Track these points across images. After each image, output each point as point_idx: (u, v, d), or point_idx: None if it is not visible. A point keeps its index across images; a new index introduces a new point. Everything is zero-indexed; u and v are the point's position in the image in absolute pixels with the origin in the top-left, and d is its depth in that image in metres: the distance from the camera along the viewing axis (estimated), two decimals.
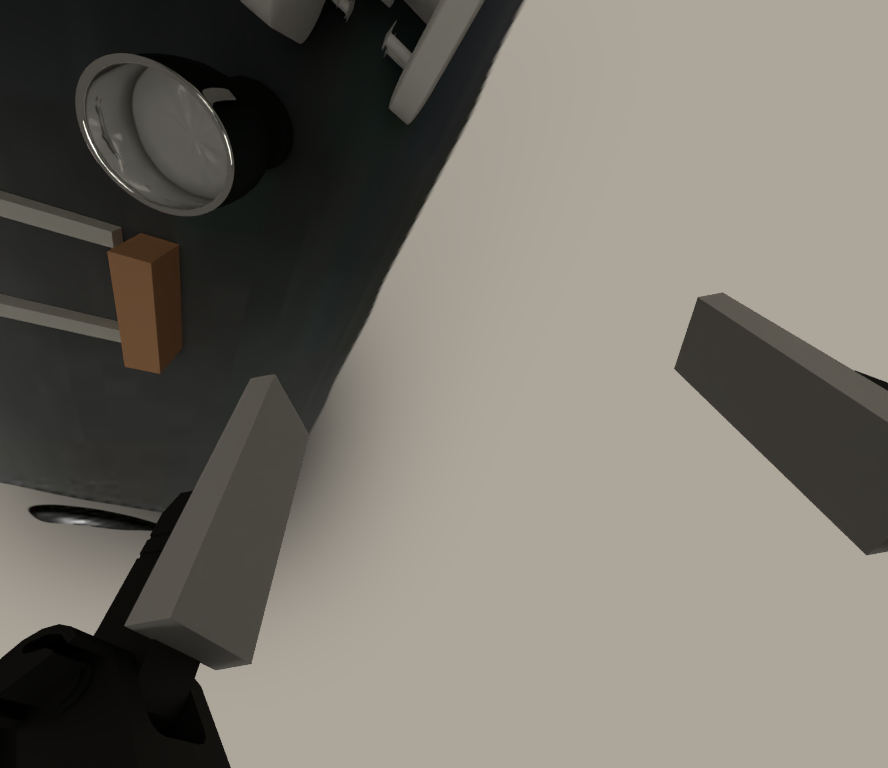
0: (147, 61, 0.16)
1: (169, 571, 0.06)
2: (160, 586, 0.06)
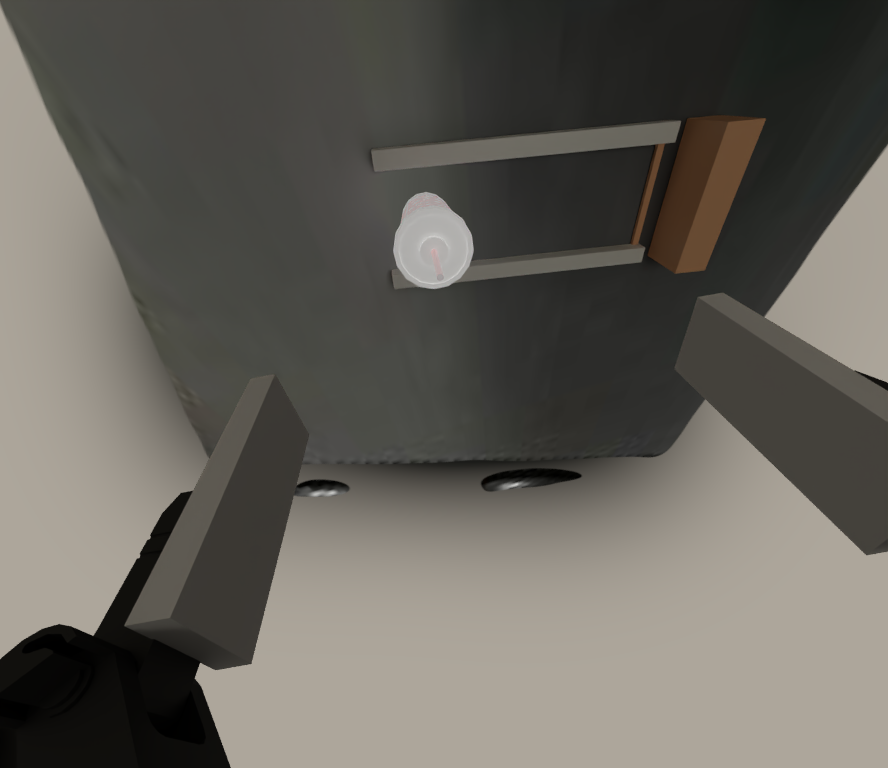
0: None
1: (169, 571, 0.06)
2: (160, 586, 0.06)
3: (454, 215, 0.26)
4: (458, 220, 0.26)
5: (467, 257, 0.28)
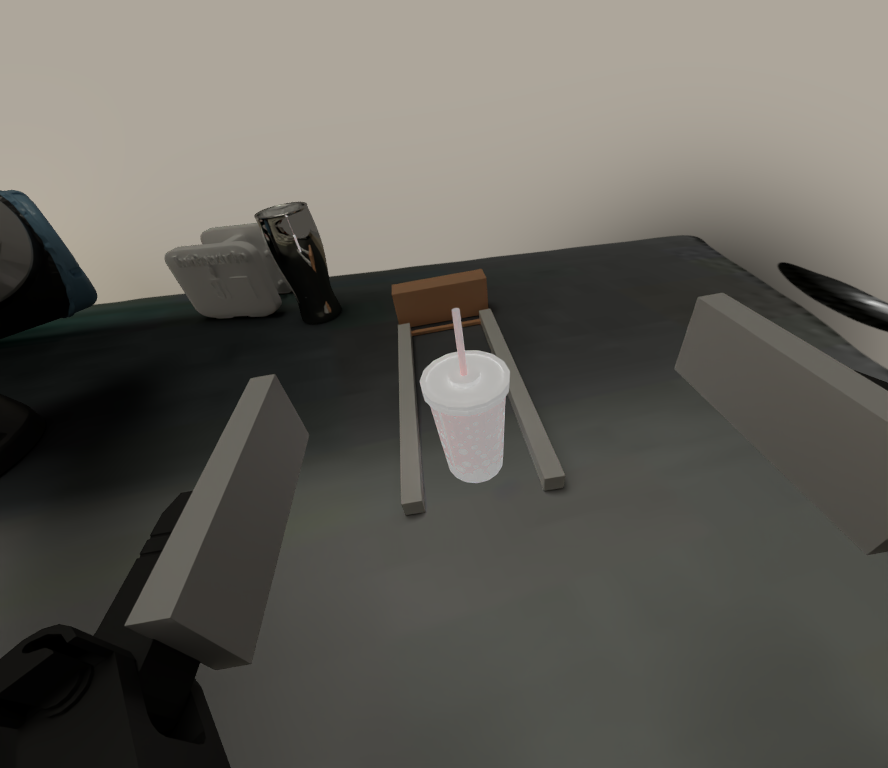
0: (255, 214, 0.45)
1: (169, 571, 0.06)
2: (160, 586, 0.06)
3: (427, 367, 0.26)
4: (432, 364, 0.26)
5: (469, 353, 0.26)
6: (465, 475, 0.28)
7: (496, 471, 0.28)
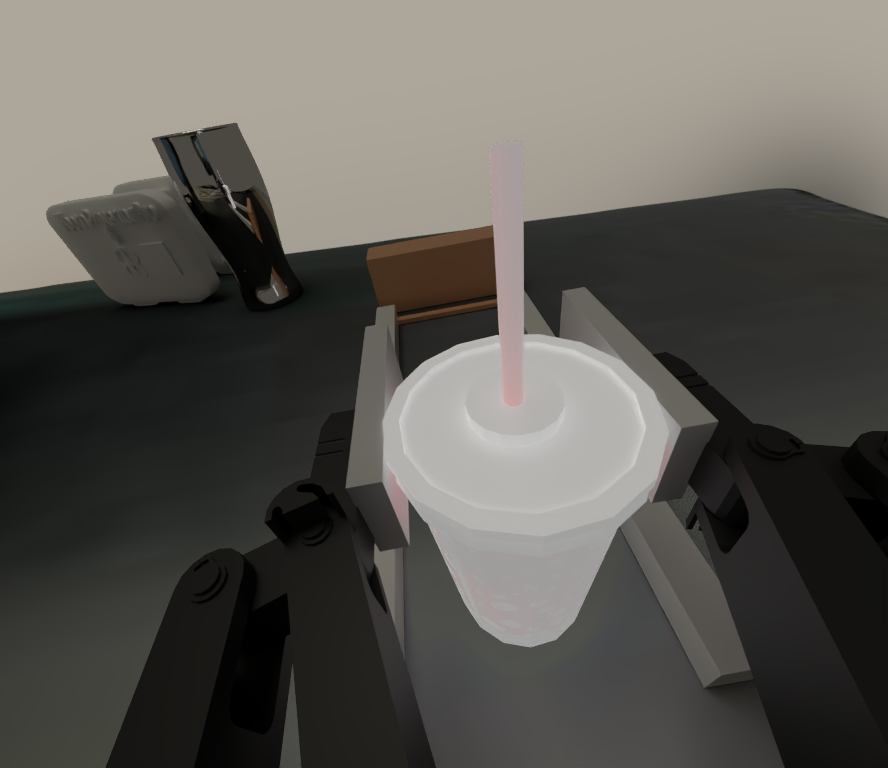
0: None
1: (365, 454, 0.08)
2: (362, 464, 0.08)
3: (408, 379, 0.09)
4: (421, 371, 0.10)
5: None
6: (503, 634, 0.12)
7: (574, 618, 0.12)
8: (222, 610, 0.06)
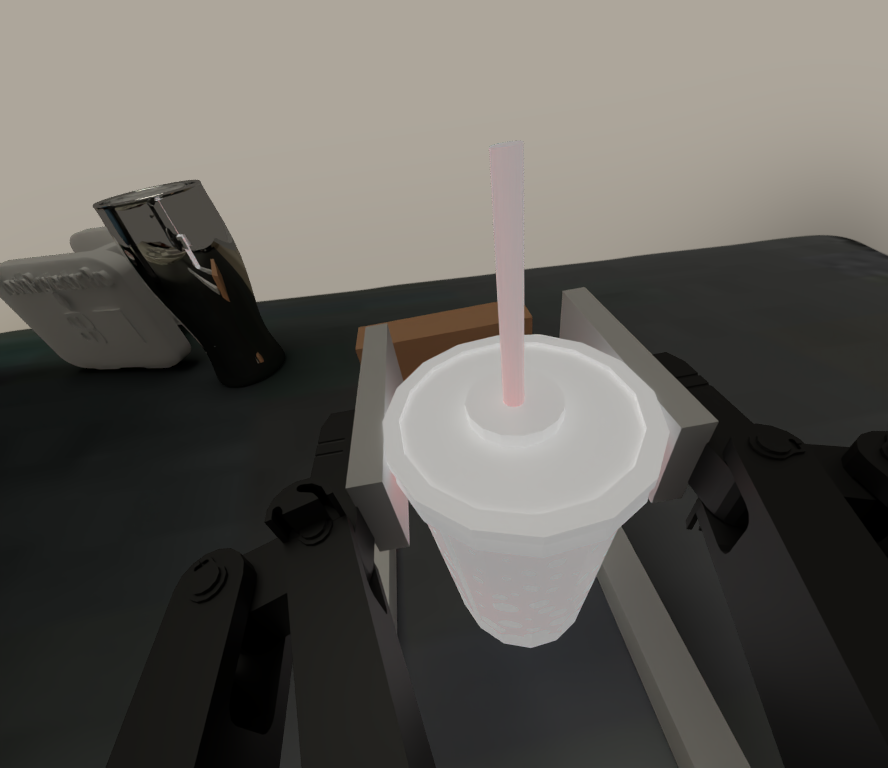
0: None
1: (365, 454, 0.08)
2: (362, 464, 0.08)
3: (408, 379, 0.09)
4: (421, 371, 0.10)
5: None
6: (503, 635, 0.12)
7: (574, 619, 0.12)
8: (222, 610, 0.06)
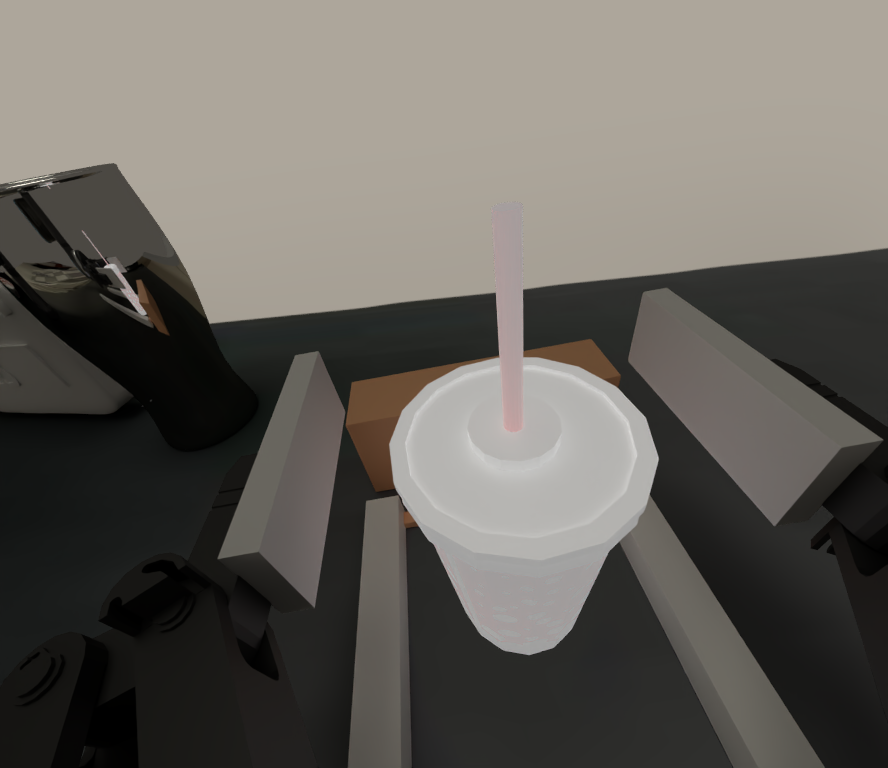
0: None
1: (250, 515, 0.07)
2: (244, 527, 0.07)
3: (413, 401, 0.10)
4: (426, 393, 0.10)
5: None
6: (503, 643, 0.12)
7: (571, 627, 0.13)
8: (56, 705, 0.05)
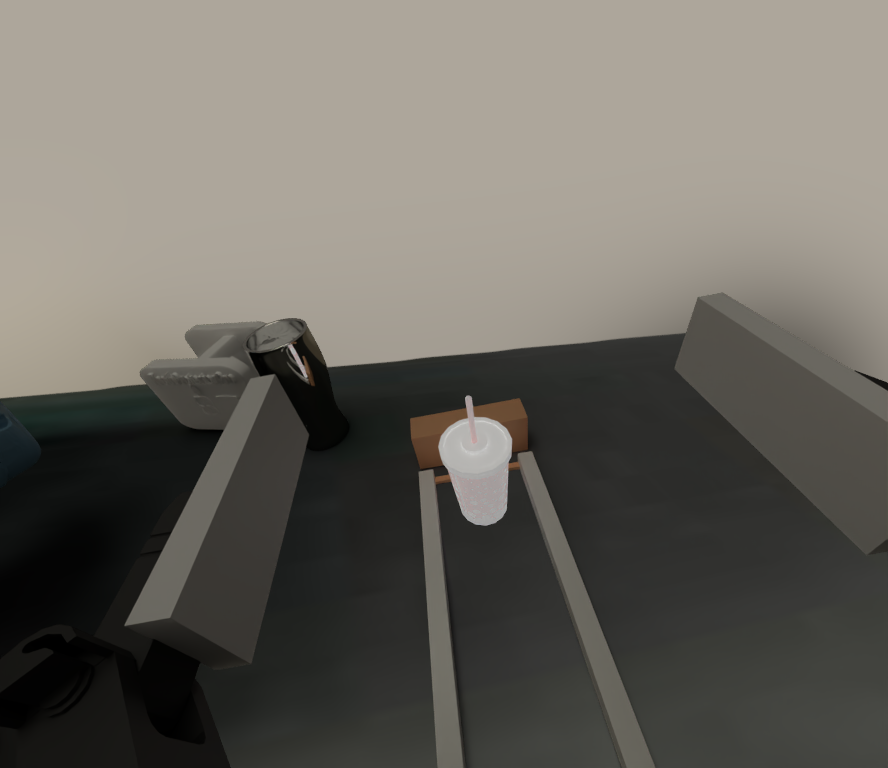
0: (244, 340, 0.37)
1: (169, 571, 0.06)
2: (160, 586, 0.06)
3: (444, 433, 0.31)
4: (448, 430, 0.31)
5: (478, 420, 0.32)
6: (475, 519, 0.33)
7: (501, 515, 0.34)
8: None
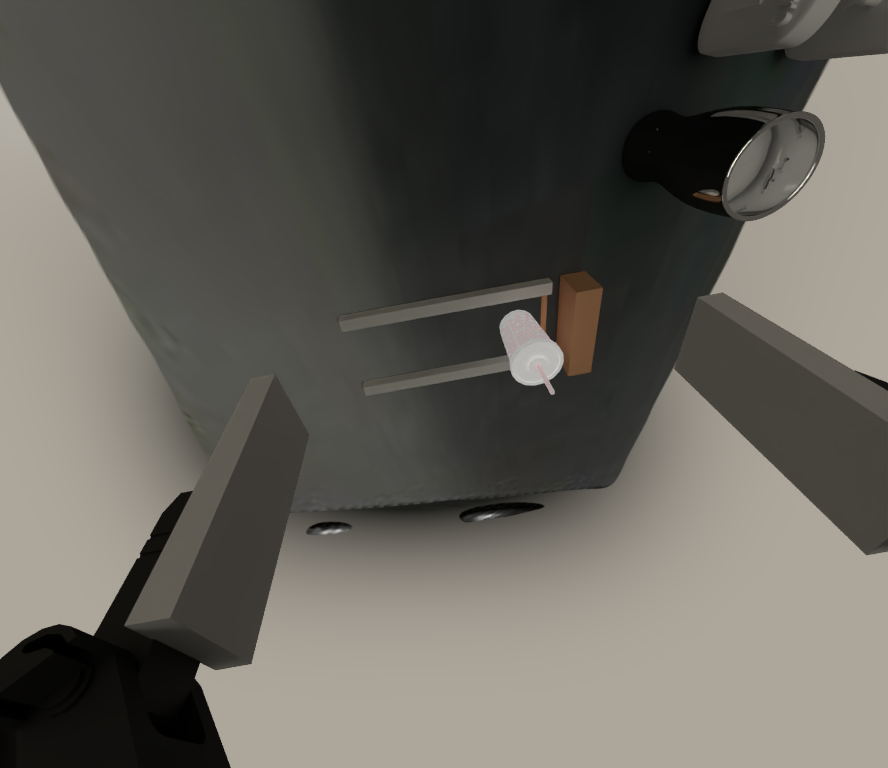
0: (790, 115, 0.23)
1: (169, 571, 0.06)
2: (160, 586, 0.06)
3: (553, 344, 0.39)
4: (555, 346, 0.40)
5: (559, 365, 0.41)
6: (502, 324, 0.46)
7: None
8: None
